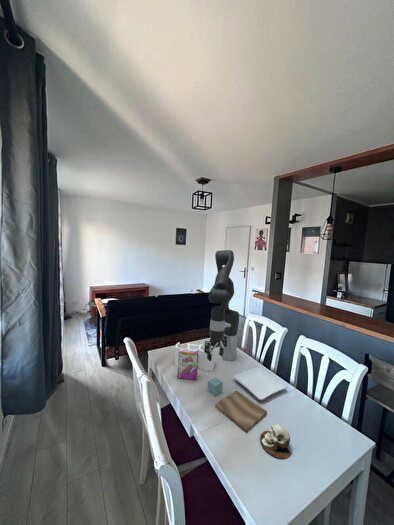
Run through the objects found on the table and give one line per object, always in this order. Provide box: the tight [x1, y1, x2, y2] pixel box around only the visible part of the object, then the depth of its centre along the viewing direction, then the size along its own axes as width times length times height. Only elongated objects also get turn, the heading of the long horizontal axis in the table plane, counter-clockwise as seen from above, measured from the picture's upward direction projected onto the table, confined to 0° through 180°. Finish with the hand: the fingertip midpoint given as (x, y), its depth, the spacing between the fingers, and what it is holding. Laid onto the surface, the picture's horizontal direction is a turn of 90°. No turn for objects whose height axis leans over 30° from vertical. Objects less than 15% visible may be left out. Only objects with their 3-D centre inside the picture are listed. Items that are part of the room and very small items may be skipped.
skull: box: [259, 423, 293, 460], centre depth 88 cm, size 12×10×10 cm
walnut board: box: [214, 389, 268, 433], centre depth 104 cm, size 16×18×2 cm
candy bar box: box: [177, 347, 199, 381], centre depth 127 cm, size 11×5×16 cm, turn 84°
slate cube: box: [207, 376, 224, 397], centre depth 116 cm, size 6×6×6 cm
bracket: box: [174, 342, 216, 372], centre depth 140 cm, size 25×10×12 cm, turn 84°
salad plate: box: [232, 366, 288, 401], centre depth 123 cm, size 21×21×3 cm
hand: (215, 357), depth 115 cm, fingers open, 8 cm apart
